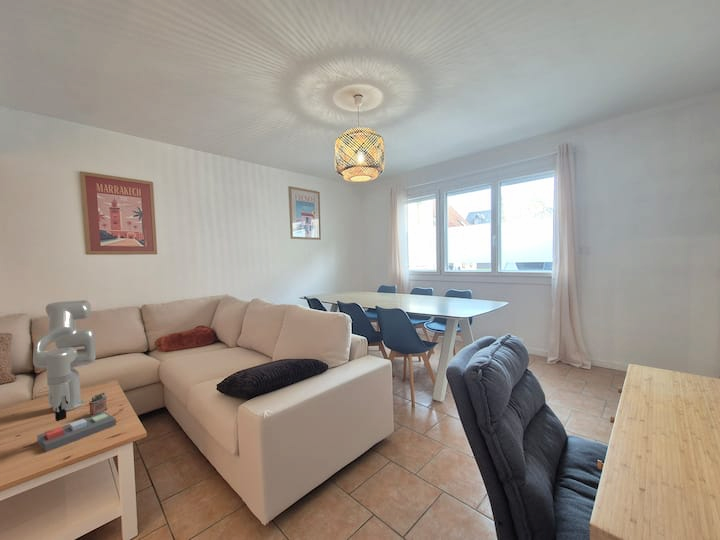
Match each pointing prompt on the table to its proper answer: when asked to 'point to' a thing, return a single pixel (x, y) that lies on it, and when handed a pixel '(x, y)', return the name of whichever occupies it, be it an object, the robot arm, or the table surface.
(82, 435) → the button panel
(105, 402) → the lighter
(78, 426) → the bluegrey button
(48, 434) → the red button
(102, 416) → the sage button
